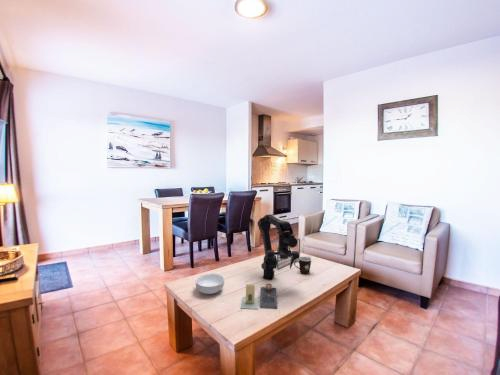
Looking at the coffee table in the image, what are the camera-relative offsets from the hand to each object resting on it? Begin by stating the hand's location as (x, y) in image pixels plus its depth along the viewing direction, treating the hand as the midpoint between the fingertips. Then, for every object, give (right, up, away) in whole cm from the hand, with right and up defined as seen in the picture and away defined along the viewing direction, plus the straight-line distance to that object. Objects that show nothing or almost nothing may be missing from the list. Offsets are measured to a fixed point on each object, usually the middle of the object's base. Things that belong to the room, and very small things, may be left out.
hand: (282, 267), depth 150 cm
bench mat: (-20, -14, -16) cm, 29 cm away
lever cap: (-20, -14, -16) cm, 29 cm away
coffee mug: (+17, -12, +25) cm, 33 cm away
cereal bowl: (-43, -13, -3) cm, 45 cm away
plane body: (-9, -14, -12) cm, 20 cm away
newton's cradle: (+6, -10, +43) cm, 45 cm away
